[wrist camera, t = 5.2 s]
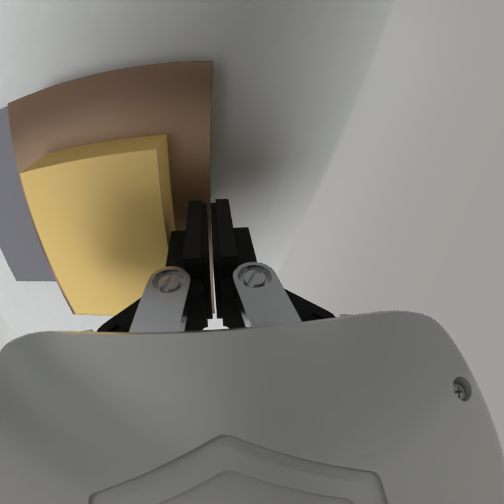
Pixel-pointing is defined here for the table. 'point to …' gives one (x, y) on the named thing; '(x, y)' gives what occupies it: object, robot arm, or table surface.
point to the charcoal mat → (17, 217)
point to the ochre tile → (103, 218)
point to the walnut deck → (126, 124)
